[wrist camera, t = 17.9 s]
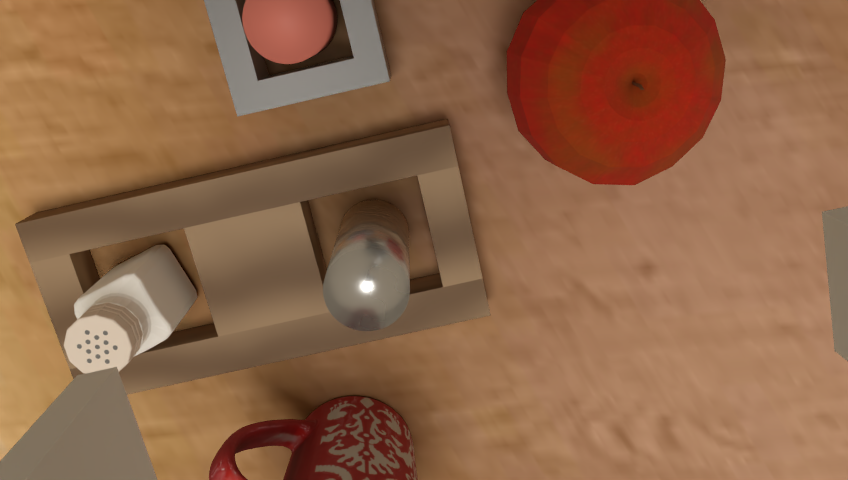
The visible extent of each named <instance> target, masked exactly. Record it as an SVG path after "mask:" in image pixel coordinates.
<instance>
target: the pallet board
mask: <svg viewBox="0 0 848 480" xmlns="http://www.w3.org/2000/svg"><path fill="white" fill-rule="evenodd" d="M413 176H418V180H419V185H420V189H421V193H422V198H423V202H424V206H425V211H426V215H427V219H428V224H429V228H430V232H431V237H432V241H433V245H434V250H435V254H436V258H437V262H438V267H439V271H440V274H435V275H431V276H426V277H422V278H417V279H413V280H410V296H409V301H408V304H407V306H406V309H405V310H404V312H403V313H402V315H401V316H400V317H399V318H398V319H397V320H396V321H395V322H394V323H392V324H391V325H389V326H387V327H385V328H383V329H379V330H375V331H359V330H354V329H351V328H349V327H347V326H345V325H343V324H341V323H340V322H339V321H337V320H336V319H335V318H334V317H333V316H332V314H331V313H330V311H329V310H328V308H327V306H326V304H325V301H324V296H323V283H324V279H325V275H326V272H327V270H326V266H325V262H324V259H323V255H322V251H321V247H320V244H319V240H318V236H317V233H316V229H315V225H314V222H313V218H312V214H311V211H310V207H309V203H308V200H311V199H316V198H320V197H324V196H329V195H333V194H338V193H342V192H347V191H351V190H355V189H360V188H364V187H369V186H373V185H378V184H382V183H386V182H391V181H395V180H400V179H404V178H409V177H413ZM15 225H16V228H17V231H18V233H19V236H20V239H21V241H22V244H23V247H24V249H25V252H26V255H27V257H28V260H29V262H30V265H31V268H32V270H33V273H34V276H35V278H36V281H37V284H38V286H39V289H40V292H41V294H42V297H43V300H44V302H45V305H46V307H47V310H48V313H49V315H50V318H51V321H52V323H53V326H54V329H55V331H56V334H57V337H58V339H59V342H60V345H61V347H62V350H63V352H64V355H65V358H66V360H67V363H68V366H69V368H70V371H71V374H72V376H73V379H74V378H75V377H76V376H77V375H81V374H85V373H82V372H81V371H80V370H79V369H78V368H77V367H75V366H74V365H73V364H72V363H71V362H70V361H69V359H68V356H67V353H66V351H65V348H64V341H65V336H66V332H67V329H68V328H69V327H70V326H71V325H72V324H73V323H74V322H75V321H76V320H77V318H76V316H75V311H74V304H75V302H76V301H77V300H78V298H79V297H81V296H82V295H83V294H84V293H85V292H86V291H87V290H88V289H90V288H91V287H92V286H93V285H94V284H95V283H96V282H98V281H99V280H100V278H99V276H98V273H97V270H96V267H95V264H94V262H93V259H92V256H91V253H90V249H94V248H99V247H103V246H107V245H112V244H116V243H121V242H125V241H130V240H134V239H138V238H143V237H147V236H152V235H156V234H161V233H165V232H169V231H174V230H178V229H183V228H184V230H185V234H186V237H187V240H188V243H189V246H190V249H191V252H192V255H193V259H194V262H195V265H196V268H197V271H198V274H199V277H200V281H201V284H202V287H203V290H204V293H205V296H206V299H207V303H208V306H209V309H210V312H211V315H212V318H213V321H214V323H213V324H209V325H204V326H200V327H195V328H190V329H186V330H181V331H177V332H172V333H171V335H170V336H169V337H168V338H167V339H166V340H164V341H163V342H161V343H159V344H157V345H156V346H154V347H152V348H150V349H148V350H146V351H144V352H143V353H140V354H138V355H136V356H134V357H133V358H132V359H131V361H130V362H129V363H128V364H127V365H126V366H125V367H124V368H123V369H122V370H120V371H119V375H120V377H121V380H122V383H123V386H124V388H125V391H126V394H132V393H137V392H141V391H146V390H150V389H155V388H160V387H164V386H169V385H173V384H178V383H182V382H187V381H192V380H196V379H201V378H205V377H210V376H215V375H219V374H224V373H228V372H233V371H238V370H242V369H247V368H251V367H256V366H260V365H265V364H270V363H274V362H279V361H283V360H288V359H293V358H297V357H302V356H306V355H311V354H316V353H320V352H325V351H329V350H334V349H338V348H343V347H348V346H352V345H357V344H361V343H366V342H371V341H375V340H380V339H384V338H389V337H394V336H398V335H403V334H407V333H412V332H417V331H421V330H426V329H430V328H435V327H439V326H444V325H449V324H453V323H458V322H462V321H467V320H472V319H476V318H481V317H485V316H490V310H489V305H488V301H487V296H486V292H485V287H484V282H483V278H482V273H481V269H480V264H479V259H478V255H477V250H476V245H475V241H474V236H473V232H472V227H471V222H470V218H469V213H468V208H467V204H466V199H465V195H464V190H463V185H462V181H461V176H460V171H459V167H458V162H457V158H456V153H455V148H454V144H453V139H452V135H451V130H450V125H449V123H448V120H447V119H445V120H441V121H437V122H432V123H428V124H423V125H419V126H415V127H410V128H406V129H401V130H397V131H393V132H388V133H384V134H380V135H375V136H371V137H366V138H362V139H358V140H353V141H349V142H345V143H340V144H336V145H331V146H327V147H323V148H318V149H314V150H309V151H305V152H301V153H296V154H292V155H288V156H283V157H279V158H274V159H270V160H266V161H261V162H257V163H253V164H248V165H244V166H239V167H235V168H231V169H226V170H222V171H217V172H213V173H209V174H204V175H200V176H196V177H191V178H187V179H182V180H178V181H174V182H169V183H165V184H161V185H156V186H152V187H147V188H143V189H139V190H134V191H130V192H125V193H121V194H117V195H112V196H108V197H104V198H99V199H95V200H90V201H86V202H82V203H77V204H73V205H69V206H64V207H60V208H55V209H51V210H47V211H42V212H38V213H35V214H33V215H31V216H29V217H27V218H26V219H24V220H22V221H20V222H18V223H16V224H15Z"/></svg>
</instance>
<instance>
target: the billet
mask: <svg viewBox="0 0 848 480" xmlns="http://www.w3.org/2000/svg"><path fill="white" fill-rule="evenodd" d="M323 296H324V301H325V304H326V306H327V308H328V310H329V311H330V313H331V314H332V316H333V317H334V318H335V319H336V320H337V321H339V322H340V323H341V324H343V325H345V326H347V327H349V328H351V329H354V330H359V331H375V330H379V329H383V328H385V327H387V326H389V325H391V324H392V323H394V322H395V321H396V320H397V319H398V318H399V317H400V316H401V315H402V313H403V312H404V310H405V309H406V306H407V304H408V301H409V296H410V267H409V228H408V223H407V221H406V218H405V217H404V215H403V214H402V212H401V211H400V210H399V209H398V208H397V207H395V206H394V205H392V204H391V203H389V202H386V201H383V200H376V199H373V200H365V201H362V202H360V203H358V204H356V205H354V206H353V207H352V208H350V209H349V211H348V212H347V213H346V214H345V216H344V218H343V220H342V222H341V225H340V229H339V232H338V235H337V239H336V242H335V245H334V249H333V252H332V255H331V259H330V262H329V265H328V269H327V272H326V275H325V279H324V283H323Z"/></svg>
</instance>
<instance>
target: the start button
mask: <svg viewBox="0 0 848 480" xmlns="http://www.w3.org/2000/svg"><path fill="white" fill-rule="evenodd" d="M242 21H243V28H244V31H245V34H246V37H247V39H248V41H249V42H250V44H251V45H252V47H253V48H254V49H255V50H256V51H257V52H258V53H259V54H260V55H262V56H263V57H265V58H266V59H268V60H271V61H273V62H276V63H281V64H294V63H298V62H302V61H304V60H306V59H308V58H310V57H312V56H314V55H316V54H318V53H319V52H321V51H322V50H324V49H325V48H326V47H327V46H328V45H329V43H330V42H331V40H332V39H333V37H334V34H335V31H336V27H337V13H336V9H335V5H334V3H333V1H332V0H246V1H245V4H244V7H243V14H242Z"/></svg>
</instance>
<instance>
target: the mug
mask: <svg viewBox="0 0 848 480" xmlns="http://www.w3.org/2000/svg"><path fill="white" fill-rule="evenodd" d="M264 446H284V447H287V448H289V449H290V450H291V451H292V455H291V458H290V461H289V464H288V467H287V470H286V473H285V476H284V479H283V480H418V479H417V472H416V465H415V455H414V447H413V441H412V437H411V434H410V431H409V429H408V427H407V425H406V423H405V422H404V420H403V419H402V417H401V416H400V415H399V414H398V413H396V412H395V411H394V410H393V409H392V408H391V407H389V406H388V405H386V404H384V403H382V402H380V401H377V400H375V399H371V398H367V397H360V396H347V397H341V398H337V399H333V400H330V401H328V402H326V403H324V404H323V405H321V406H319V407H318V408H317V409H315V410H314V411H313V412H312V413H311V414H310V415H309V416H308V417H307V418H306V420H295V419H283V420H271V421H264V422H258V423H254V424H251V425H247V426H245V427H242V428H241V429H239V430H237V431H236V432H235V433H233V434H232V435H231V436H230V437H229V438H228V439H227V440H226V441H225V442H224V444H223V445H222V446H221V448H220V449H219V451H218V452H217V454H216V456H215V458H214V459H213V461H212V464H211V467H210V472H209V480H247V479H246V478H245V477H244V476H243V475H242V474H241V473H240V471H239V469H238V467H237V465H236V462H235V454H236V453H238V452H241V451H244V450H248V449H253V448H258V447H264Z"/></svg>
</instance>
